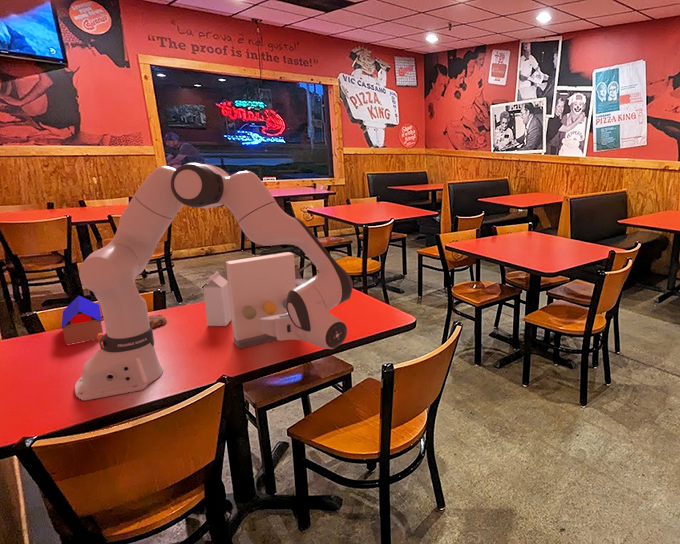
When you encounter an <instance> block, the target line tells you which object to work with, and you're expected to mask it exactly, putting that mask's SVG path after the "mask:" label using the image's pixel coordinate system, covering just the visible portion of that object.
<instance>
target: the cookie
mask: <svg viewBox="0 0 680 544" xmlns="http://www.w3.org/2000/svg"><path fill="white" fill-rule="evenodd" d="M148 318H149V324H150V326H151V328H152V329H154V328H155V327H156V328H157V327H159V326H163V325H165V324H167V322H168V321H167V318H166V317H164V316H163V315H162V314H155V315H150V316H149V315H148Z"/></svg>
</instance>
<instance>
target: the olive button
mask: <svg viewBox="0 0 680 544" xmlns="http://www.w3.org/2000/svg"><path fill="white" fill-rule="evenodd" d="M242 314H243V316H244V317H245V318H246V319H253V318H254V317H255V316H256V310H255V309H254V308H253V307H252V306H246V307H245V308H244V309H243V311H242Z"/></svg>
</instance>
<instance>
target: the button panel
mask: <svg viewBox="0 0 680 544" xmlns="http://www.w3.org/2000/svg"><path fill="white" fill-rule="evenodd" d="M225 265H226V266H225V267H226V276H227V281H228V288H229V298H230V308H231V318H232V320H231V325H232V337H233V343H234V344H235V346H236V347H237V348H238V349H240V350H241V349H244V348H248V347H253V346H255V345H256V346H257V345H259V344H263V343H264V344H265V343H268V342H272V341H276V340H277V338H276V337H273V336H269V335H267V334H265V333H263V332H262V331H261V330H260V323H259V321H260V319H261V318H264V317H269V316H274V315H278V314H279V313H284V312H287V309H285V308H284V307H283V301H284V300H285V299H286V298H287V296H288V293H289V291H290V290H292V289H294V288H295V287H296V282H295V265H296V264H295V254H294V253H292V252H289V251H288V252H281V253H275V254H268V255H260V256H256V257H255V256H254V257H248V258H247V257H246V258H241V259H235V260H234V259H233V260H228V261H225ZM269 301H270V302H273V303H274V304H275V305H276V306H277V310H276V312H275V313H274V314H272V315H268V314H267V313H265V312H264V310H263V306H264V304H265V303H266V302H269ZM246 306H252V307H253V308H254V309H255V310H256V316H255V317H254V318H253V319H246V318H245V317H244V316H243V314H242V311H243V309H244V308H245V307H246Z"/></svg>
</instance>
